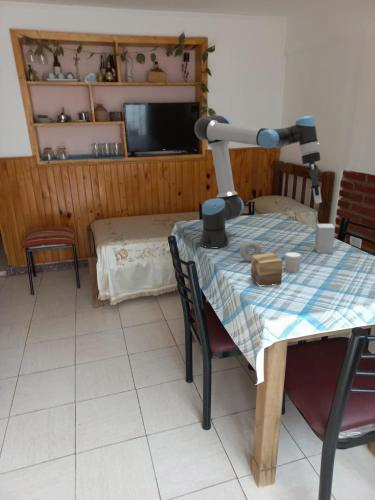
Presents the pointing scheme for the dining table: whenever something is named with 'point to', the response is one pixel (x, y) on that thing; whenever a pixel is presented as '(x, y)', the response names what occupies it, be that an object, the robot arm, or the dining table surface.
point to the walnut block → (266, 278)
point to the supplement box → (324, 238)
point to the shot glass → (292, 261)
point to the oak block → (266, 264)
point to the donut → (246, 246)
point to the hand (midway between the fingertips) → (318, 201)
